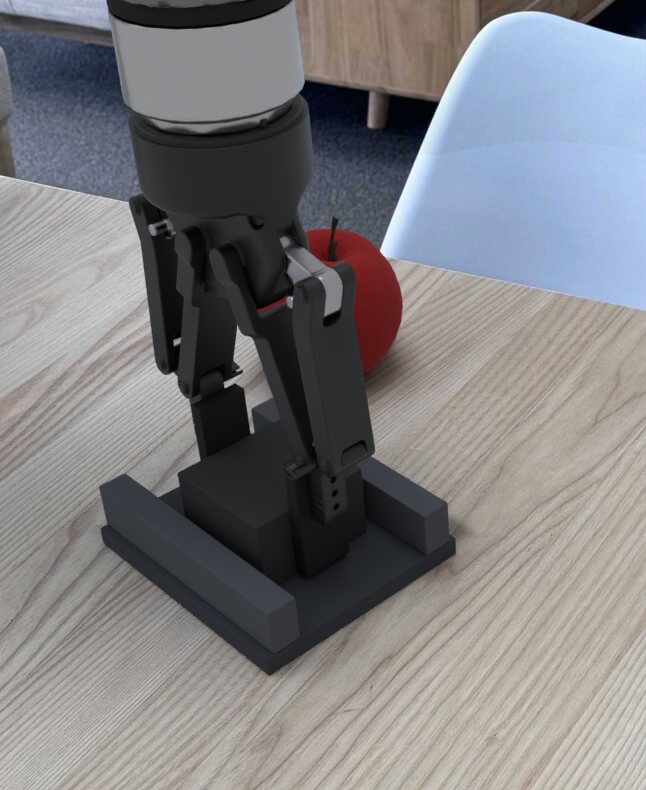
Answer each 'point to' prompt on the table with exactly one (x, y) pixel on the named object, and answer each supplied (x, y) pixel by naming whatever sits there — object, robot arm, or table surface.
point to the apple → (362, 289)
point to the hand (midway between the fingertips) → (277, 529)
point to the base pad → (295, 595)
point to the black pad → (256, 501)
